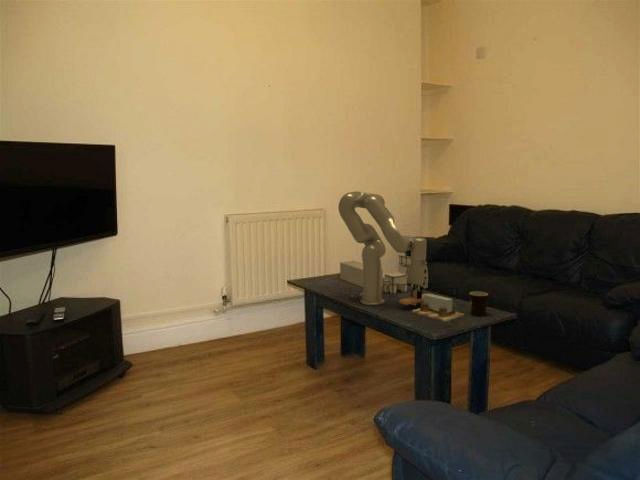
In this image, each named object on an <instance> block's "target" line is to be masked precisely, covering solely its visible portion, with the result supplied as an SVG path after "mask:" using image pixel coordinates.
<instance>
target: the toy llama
mask: <svg viewBox="0 0 640 480" xmlns="http://www.w3.org/2000/svg"><path fill="white" fill-rule="evenodd" d="M410 264H411V256H408V255H405V254H404V255H403V254H400V255H398V272H393V273H387V274H386V273H385V274H384V279H383V285H384V292H385V293H389V294H390V295H397V292H399V291H400V292H401V293H403V294H404V293H407V292H408V283H407V280H408V270H409V265H410Z"/></svg>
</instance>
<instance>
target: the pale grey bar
mask: <svg viewBox="0 0 640 480" xmlns="http://www.w3.org/2000/svg"><path fill="white" fill-rule="evenodd" d="M424 294H425V295H424V303H425V304H428V308H430V309H434V310H438V311H439V308H444V309H446V313H448V312H451V311H452V306H453V298H450V297H446V296H443V295H442V296H441V295H436V294H432V293H424Z"/></svg>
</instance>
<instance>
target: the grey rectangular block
mask: <svg viewBox="0 0 640 480" xmlns="http://www.w3.org/2000/svg"><path fill="white" fill-rule="evenodd" d="M383 270H384V269H383V268H381V288H382V287H383V285H384V279H383V278H384V271H383ZM339 275H340V276H339V279H340V280H344V281H345V280H346V281H345V282H348V283H351V284H353V285H356V286H359V287H362V288H363V262H361V261H357V260H348V261H340V262H339ZM383 288H384V287H383Z"/></svg>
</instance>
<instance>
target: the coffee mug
mask: <svg viewBox="0 0 640 480" xmlns="http://www.w3.org/2000/svg"><path fill="white" fill-rule="evenodd" d="M488 297H489V293H487V292H484V291H479V290H477V291H475V290H474V291H470V292H469V301H470V302H469V303H470V313H471V315H473V316H475V317H481V316H486V311H487V305H488Z"/></svg>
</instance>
